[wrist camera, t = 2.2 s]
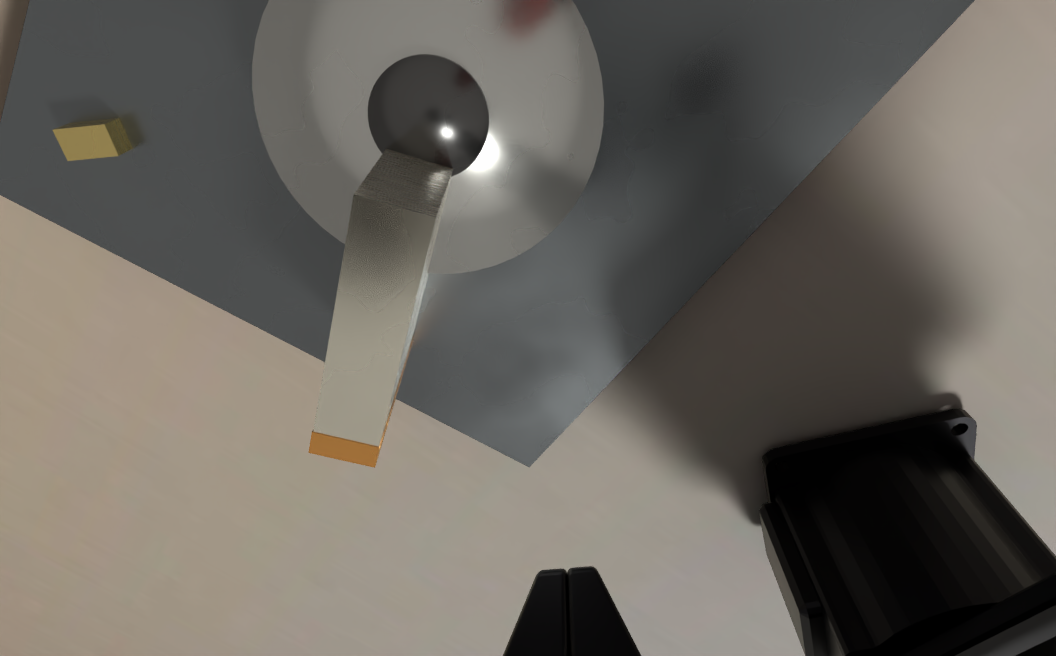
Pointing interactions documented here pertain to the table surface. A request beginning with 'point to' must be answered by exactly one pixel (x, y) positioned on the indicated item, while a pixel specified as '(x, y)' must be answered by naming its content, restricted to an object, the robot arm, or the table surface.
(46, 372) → the table surface
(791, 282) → the table surface
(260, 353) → the table surface
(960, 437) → the robot arm
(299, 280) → the panel
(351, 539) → the table surface
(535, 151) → the dial
